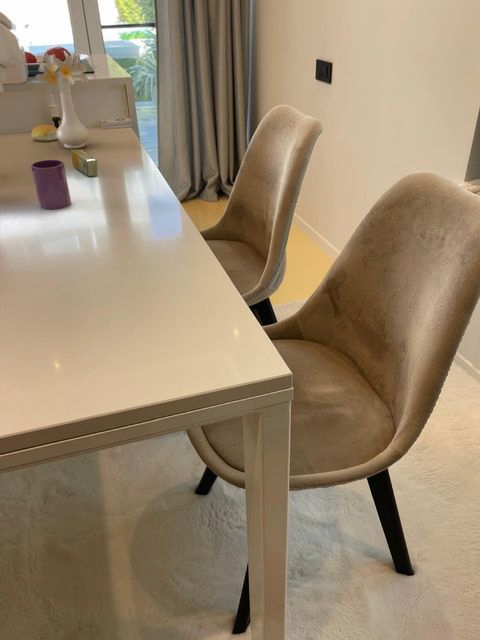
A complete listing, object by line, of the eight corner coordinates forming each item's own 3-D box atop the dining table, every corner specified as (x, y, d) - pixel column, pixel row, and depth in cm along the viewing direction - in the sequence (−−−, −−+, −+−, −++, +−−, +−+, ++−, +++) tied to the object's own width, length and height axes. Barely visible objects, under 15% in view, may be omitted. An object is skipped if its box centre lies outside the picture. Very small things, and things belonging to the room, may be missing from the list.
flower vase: (47, 155, 159) (26, 57, 145) (59, 139, 175) (41, 49, 160) (93, 154, 161) (77, 56, 147) (101, 138, 176) (88, 48, 162)
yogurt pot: (46, 211, 122) (37, 170, 117) (35, 203, 126) (26, 163, 121) (76, 205, 126) (68, 164, 121) (64, 197, 130) (56, 157, 125)
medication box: (98, 176, 144) (97, 160, 142) (88, 176, 142) (87, 160, 140) (81, 164, 152) (80, 148, 150) (71, 164, 150) (70, 149, 148)
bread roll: (50, 134, 181) (47, 121, 178) (65, 138, 176) (63, 125, 174) (26, 138, 175) (23, 125, 173) (42, 143, 171) (39, 129, 168)
